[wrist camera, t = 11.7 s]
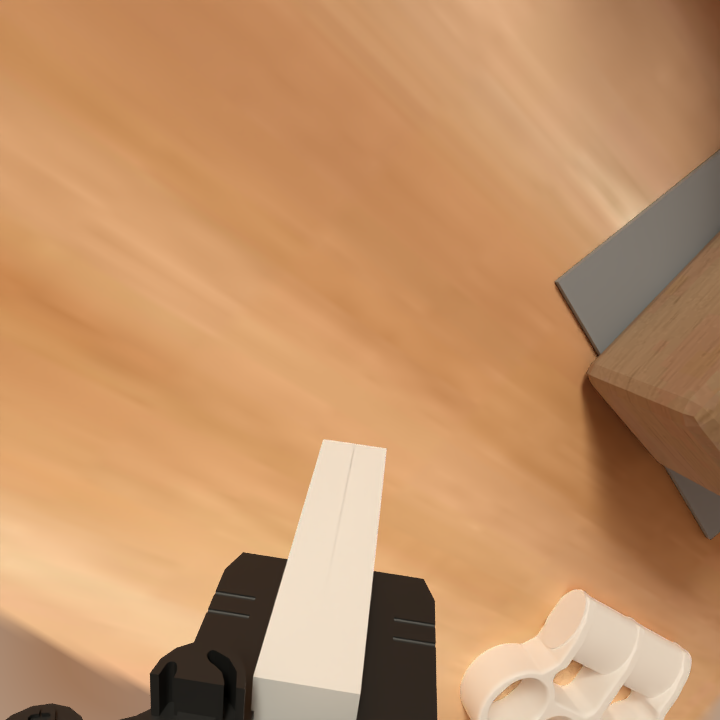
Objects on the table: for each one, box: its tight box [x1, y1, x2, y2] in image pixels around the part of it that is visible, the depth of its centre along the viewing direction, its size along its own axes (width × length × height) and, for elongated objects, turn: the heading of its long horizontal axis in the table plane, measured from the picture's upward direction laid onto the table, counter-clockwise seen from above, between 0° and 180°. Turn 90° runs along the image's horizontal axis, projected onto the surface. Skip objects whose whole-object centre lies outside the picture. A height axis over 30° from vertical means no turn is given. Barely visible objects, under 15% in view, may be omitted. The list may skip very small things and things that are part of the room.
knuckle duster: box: [460, 589, 692, 720], centre depth 46 cm, size 3×18×15 cm
